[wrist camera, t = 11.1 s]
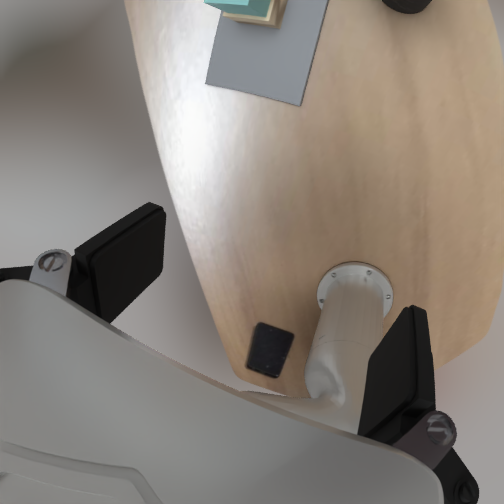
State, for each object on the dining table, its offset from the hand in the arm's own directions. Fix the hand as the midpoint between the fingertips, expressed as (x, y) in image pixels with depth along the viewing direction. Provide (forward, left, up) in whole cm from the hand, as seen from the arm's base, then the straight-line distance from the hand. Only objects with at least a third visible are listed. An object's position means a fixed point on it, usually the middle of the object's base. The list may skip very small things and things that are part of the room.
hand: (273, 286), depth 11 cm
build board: (+12, +14, -33) cm, 38 cm away
